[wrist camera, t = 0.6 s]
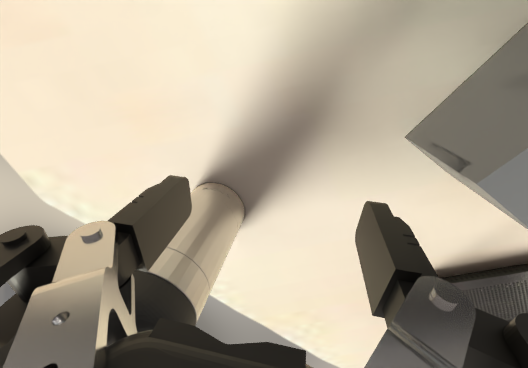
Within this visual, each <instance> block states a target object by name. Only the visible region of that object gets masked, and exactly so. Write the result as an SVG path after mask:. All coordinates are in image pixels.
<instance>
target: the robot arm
mask: <svg viewBox="0 0 528 368" xmlns="http://www.w3.org/2000/svg"><path fill="white" fill-rule="evenodd" d="M243 219H244V206H243V203H242V201H241V199H240V198H239V197H238V195H237V194H236V193H235V192H234V191H233V190H231V189H230V188H228V187H226V186H224V185H222V184H217V183H206V184H202V185H200V186H198V187H197V188H196V189H194V190H193V191H192V192H191V193H190V187H189V181H188V179H187V178H186V177H179V176H172V175H170V176H168V177H167V178H166V179H164V180H163V181H162V182H161V183H160V184H157V185H155V186H153V187H150V188H148V189H146V190H145V191H144V192H143V193H141V194H140V195H139V197H136V198H135V199H134V200H133V201H132V203H131V202H130V203H129V204H128V205H127V206H125V207H124V208H123V209H122V210H120V211H119V212H118V213H117V214H115V215H114V216H113V217H112V218H110V219H109V220H108V221H97V222H92V223H89V224H86V225H83V226H81V227H79V228H77V229H76V230H74V231H73V232H72V233H71V234H70V235H69V236H58V237H48V236H47V234H46V232H45V231H44V229H43V228H42V227H40V226H34V225H33V226H24V227H19V228H16V229H13V230H10V231H7V232H5V233H3V234H1V235H0V287H1V286H2V285H3V284H5V283H6V282H8V284H9V285H10V286H11V287H12V289H13V290H14V291H15V292H16V294H15V295H14V296H12V297H11V298H10V299H9V300H8V301H6V302H5V303H4V304H3V305H2V306H1V307H0V368H312V367H310V366H309V365H307V364H306V351H305V350H300V349H296V348H291V347H287V346H283V345H278V344H274V343H269V342H261V343H246V344H231V345H230V344H225V343H222V342H221V341H219V340H217V339H215V338H214V337H212V336H211V335H209V334H207V333H205V332H204V331H202V330H200V329H199V328H197V327H195V325H196V323H197V321H198V318H199V316H200V314H201V312H202V310H203V307H204V305H205V303H206V300H207V298H208V296H209V294H210V292H211V289H212V287H213V285H214V283H215V281H216V278H217V276H218V274H219V272H220V270H221V268H222V265H223V263H224V261H225V259H226V257H227V254H228V252H229V250H230V248H231V246H232V243H233V241H234V239H235V237H236V235H237V233H238V230H239V228H240V226H241V224H242V222H243ZM355 242H356V247H357V251H358V256H359V260H360V264H361V268H362V273H363V277H364V281H365V285H366V290H367V294H368V298H369V302H370V307H371V311H372V315H373V316H377V317H382V318H385V321H386V324H387V328H388V329H387V330H386V332H385V334H384V335H383V337H382V339H381V340H380V342H379V344H378V345H377V347H376V349H375V350H374V352H373V354H372V356H371V357H370V359H369V361H368V362H367V364H366V366H365V367H364V368H528V313H521V314H519V315H517V316H516V317H515V318H514V319H513V320H512V321H511V322H509V321H506V320H504V319H501V318H499V317H497V316H494V315H492V314H489V313H487V312H484V311H482V310H480V309H477V308H475V307H474V305H473V303H472V301H471V300H470V299H469V298H468V296H467V295H466V294H465V293H464V292H462V291H461V290H460V289H459V288H457V287H456V286H455V285H453V284H451V283H450V282H448V281H446V280H443V279H441V278H439V277H438V276H437V274H436V272H435V270H434V269H433V267H432V265H431V263H430V262H429V260H428V258H427V256H426V255H425V253H424V251H423V249H422V248H421V246H419V245H420V244H419V242H418V241H417V239H416V238H415V235H414V234H413V232H412V230H411V229H410V227H409V226H408V225H407V224H406V223H405V222H404V221H403V220H402V219H400V218H399V217H394V216H393V214H392V212H391V210H390V208H389V207H388V205H387V204H386V203H378V202H371V201H367V202H366V203H365V205H364V207H363V211H362V214H361V217H360V220H359V223H358V226H357V229H356V235H355Z"/></svg>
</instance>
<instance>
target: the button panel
mask: <svg viewBox="0 0 528 368" xmlns="http://www.w3.org/2000/svg"><path fill="white" fill-rule="evenodd" d="M405 138H406V139H407V140H409V141H410V142H411V143H412V144H413V145H415V146H416V147H417V148H418V149H419V150H421V151H422V152H423V153H424V154H425V155H427V156H428V157H429V158H430V159H431V160H433V161H434V162H435V163H436V164H437V165H439V166H440V167H441V168H442V169H444V170H445V171H446V172H447V173H449V174H450V175H451V176H453V177H454V178H456V179H457V180H459V181H460V182H461V183H463V184H464V185H466V186H467V187H468V188H470V189H471V190H473V191H474V192H476V193H477V194H478V195H480V196H481V197H483V198H484V199H485V200H487V201H488V202H490V203H491V204H493V205H494V206H495V207H497V208H498V209H500V210H501V211H502V212H504V213H505V214H507V215H508V216H510V217H511V218H512V219H514V220H515V221H517V222H518V223H519V224H521V225H522V226H524V227H525V228H527V229H528V23H527V24H526V25H525V26H524V27H523V28H522V29H521V30H520V31H519V32H518V33H517V34H516V35H514V36H513V37H512V38H511V39H510V40H509V41H508V42H507V43H506V44H505V45H504V46H503V47H502V48H500V49H499V50H498V51H497V52H496V53H495V54H494V55H493V56H492V57H491V58H490V59H489V60H488V61H486V62H485V63H484V64H483V65H482V66H481V67H480V68H479V69H478V70H477V71H476V72H475V73H474V74H472V75H471V76H470V77H469V78H468V79H467V80H466V81H465V82H464V83H463V84H462V85H461V86H460V87H458V88H457V89H456V90H455V91H454V92H453V93H452V94H451V95H450V96H449V97H448V98H447V99H446V100H444V101H443V102H442V103H441V104H440V105H439V106H438V107H437V108H436V109H435V110H434V111H433V112H432V113H430V114H429V115H428V116H427V117H426V118H425V119H424V120H423V121H422V122H421V123H420V124H419V125H418V126H416V127H415V128H414V129H413V130H412V131H411V132H410V133H409V134H408V135H407V136H406V137H405Z"/></svg>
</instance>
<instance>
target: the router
mask: <svg viewBox="0 0 528 368" xmlns="http://www.w3.org/2000/svg"><path fill="white" fill-rule="evenodd" d="M441 279H443V280H446V281H448V282H450V283H451V284H453V285H455V286H456V287H457V288H459V289H460V290H461V291H462V292H464V293H465V294H466V295H467V296H468V298H469V299H470V300H471V301H472V303H473V305H474V307H475V308H477V309H480V310H482V311H484V312H487V313H489V314H492V315H494V316H497V317H499V318H501V319H504V320H506V321H509V322H511V321H512V320H513V319H514V318H515V317H516V316H517V315H519V314H521V313H528V264H524V265H518V266H512V267H506V268H500V269H494V270H488V271H482V272H476V273H470V274H464V275H458V276H452V277H446V278H441Z"/></svg>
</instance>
